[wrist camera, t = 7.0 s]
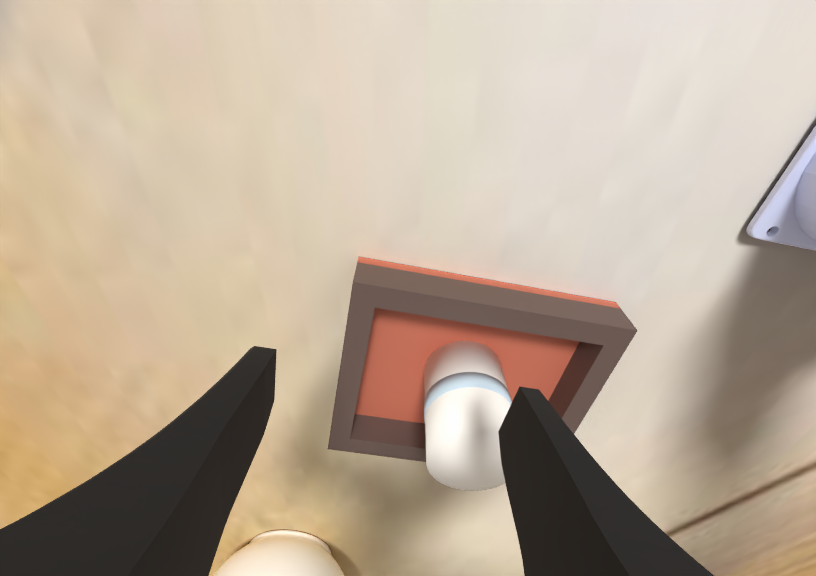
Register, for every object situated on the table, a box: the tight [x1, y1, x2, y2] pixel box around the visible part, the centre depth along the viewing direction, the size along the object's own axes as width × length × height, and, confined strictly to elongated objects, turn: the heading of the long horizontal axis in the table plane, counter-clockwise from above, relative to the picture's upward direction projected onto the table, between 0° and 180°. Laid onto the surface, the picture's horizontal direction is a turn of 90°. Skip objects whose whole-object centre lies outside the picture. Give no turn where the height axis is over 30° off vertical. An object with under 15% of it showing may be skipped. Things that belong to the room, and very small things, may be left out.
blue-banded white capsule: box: [424, 341, 512, 491], centre depth 22 cm, size 5×5×6 cm
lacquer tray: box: [328, 257, 637, 462], centre depth 24 cm, size 14×12×2 cm
